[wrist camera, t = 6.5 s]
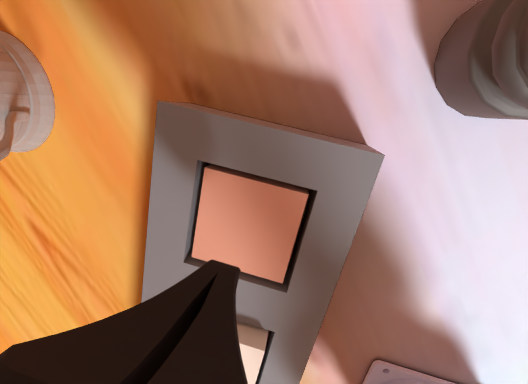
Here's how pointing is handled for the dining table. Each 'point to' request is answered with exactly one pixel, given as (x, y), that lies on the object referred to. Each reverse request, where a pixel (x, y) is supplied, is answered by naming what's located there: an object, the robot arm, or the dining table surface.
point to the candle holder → (486, 61)
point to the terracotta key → (248, 221)
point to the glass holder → (23, 98)
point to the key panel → (274, 167)
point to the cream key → (251, 348)
